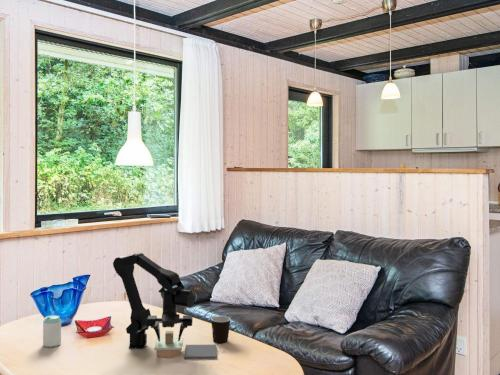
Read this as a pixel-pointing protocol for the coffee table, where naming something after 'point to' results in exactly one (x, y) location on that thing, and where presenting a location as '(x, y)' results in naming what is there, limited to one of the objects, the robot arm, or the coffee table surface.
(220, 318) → the coffee mug
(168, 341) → the lid
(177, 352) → the bowl
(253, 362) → the coffee table surface
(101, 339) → the coffee table surface
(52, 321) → the can
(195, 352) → the mat
